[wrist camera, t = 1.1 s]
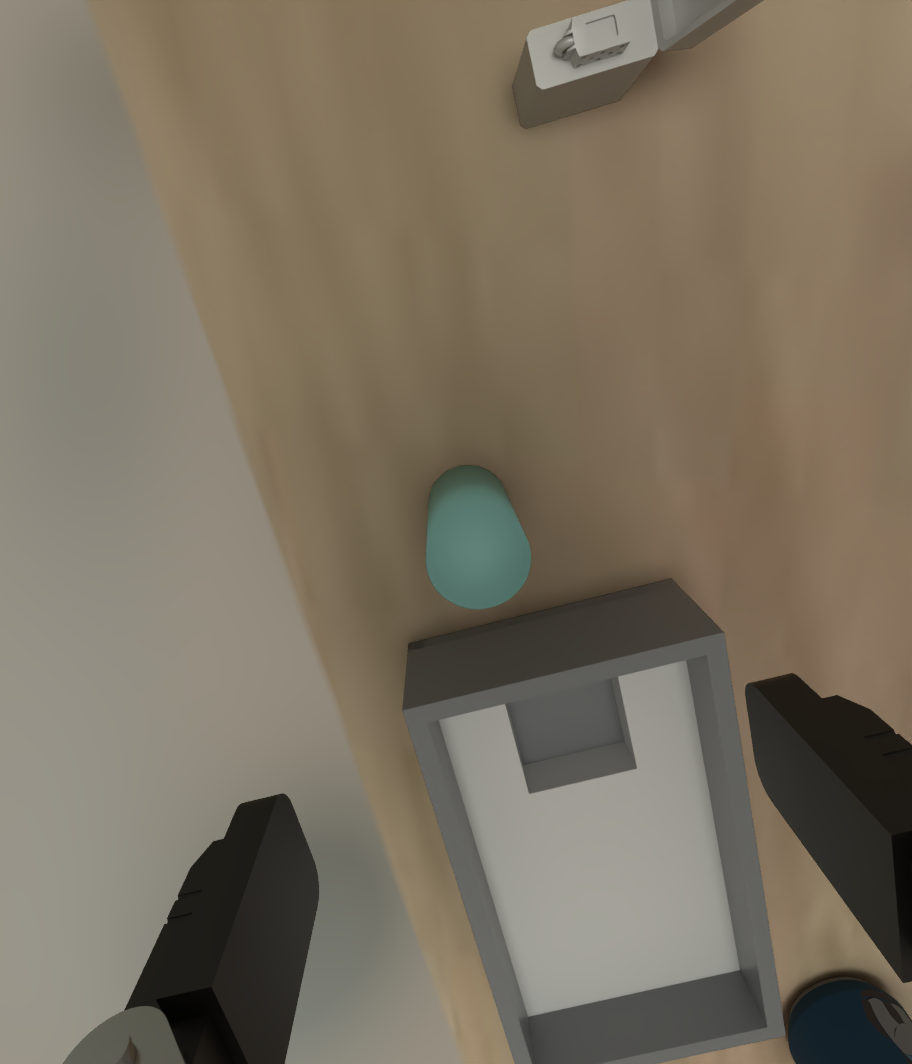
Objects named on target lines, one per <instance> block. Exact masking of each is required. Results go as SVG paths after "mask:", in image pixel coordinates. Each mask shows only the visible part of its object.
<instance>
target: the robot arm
mask: <svg viewBox="0 0 912 1064" xmlns="http://www.w3.org/2000/svg"><path fill="white" fill-rule="evenodd" d="M745 696H746V703H747V710H748V717H749V724H750V731H751V737H752V744H753V751H754V758H755V763H756V767H757V771H758V774H759V777H760V779H761V782H762V784H763V787H764V789H765V791H766V793H767V795H768V796H769V798H770V800H771V801H772V802H773V804H774V805H775V807H776V808H777V809H778V811H779V812H780V814H781V815H782V816H783V818H784V819H785V820H786V822H787V823H788V825H789V826H790V827H791V829H792V830H793V832H794V833H795V834H796V836H797V837H798V838H799V840H800V841H801V843H802V844H803V845H804V847H805V848H806V849H807V851H808V852H809V854H810V855H811V856H812V858H813V859H814V861H815V862H816V863H817V865H818V866H819V867H820V869H821V870H822V872H823V873H824V874H825V876H826V877H827V878H828V880H829V881H830V883H831V884H832V885H833V887H834V888H835V890H836V891H837V892H838V894H839V895H840V896H841V898H842V899H843V901H844V902H845V903H846V905H847V906H848V908H849V909H850V910H851V912H852V913H853V914H854V916H855V917H856V919H857V920H858V921H859V923H860V924H861V925H862V927H863V928H864V930H865V931H866V932H867V934H868V935H869V937H870V938H871V939H872V941H873V942H874V943H875V945H876V946H877V948H878V949H879V950H880V952H881V953H882V955H883V956H884V957H885V959H886V960H887V961H888V963H889V964H890V966H891V967H892V968H893V970H894V971H895V972H896V974H897V975H898V977H899V978H900V979H901V981H902V982H903V983H906V982H910V981H912V745H911V744H910V743H909V742H908V741H906V740H905V739H904V738H903V737H902V736H901V735H899V734H895V732H894V729H892V728H891V727H890V726H889V725H888V724H887V723H885V722H884V721H883V720H882V719H881V718H880V717H878V716H877V715H876V714H875V713H874V712H873V711H871V710H870V709H868V708H866V707H863V706H861V705H859V704H857V703H854V702H852V701H850V700H847V699H845V698H843V697H840V696H838V695H835V696H831V697H827V698H823V699H822V698H821V697H820V696H819V695H818V694H817V693H816V692H814V691H813V690H812V689H811V688H810V687H809V686H808V685H807V684H806V683H805V682H804V681H803V680H802V679H801V678H799V677H798V676H797V675H795V674H793V673H790V674H786V675H782V676H778V677H773V678H769V679H765V680H761V681H757V682H752V683H748V684H747V685H746V689H745ZM318 900H319V882H318V874H317V869H316V865H315V862H314V860H313V857H312V854H311V852H310V849H309V846H308V844H307V841H306V839H305V836H304V834H303V831H302V828H301V826H300V823H299V821H298V818H297V816H296V813H295V811H294V808H293V806H292V803H291V801H290V799H289V798H288V796H287V795H285V794H279V795H274V796H271V797H266V798H262V799H258V800H253V801H249V802H245V803H241V804H240V805H239V806H238V807H237V809H236V812H235V814H234V816H233V818H232V821H231V823H230V826H229V828H228V830H227V833H226V835H225V837H224V839H221V840H217V841H213V842H212V844H211V845H210V846H209V847H208V848H207V849H206V851H205V852H204V853H203V854H202V855H201V856H200V858H199V859H198V860H197V861H196V862H195V863H194V864H193V866H192V867H191V868H190V870H189V872H188V875H187V877H186V879H185V881H184V883H183V885H182V888H181V890H180V892H179V894H178V900H177V901H175V903H174V905H173V907H172V909H171V911H170V913H169V915H168V918H167V919H168V923H167V924H164V926H163V928H162V930H161V933H160V935H159V937H158V939H157V941H156V944H155V946H154V948H153V950H152V952H151V954H150V957H149V959H148V961H147V963H146V965H145V967H144V969H143V971H142V974H141V976H140V978H139V980H138V982H137V985H136V987H135V989H134V991H133V993H132V995H131V997H130V999H129V1002H128V1004H127V1006H126V1008H125V1010H124V1011H123V1012H120V1013H118V1014H116V1015H115V1016H113V1017H111V1018H109V1019H107V1020H106V1021H105V1022H103V1023H102V1024H100V1025H99V1026H97V1027H96V1028H95V1029H94V1030H93V1031H91V1032H90V1033H89V1034H88V1035H87V1036H86V1037H85V1038H84V1039H83V1040H82V1041H81V1042H80V1043H79V1044H78V1045H77V1046H76V1047H75V1048H74V1049H73V1051H72V1052H71V1053H70V1054H69V1056H68V1057H67V1058H66V1060H65V1061H64V1063H63V1064H285V1059H286V1054H287V1049H288V1045H289V1040H290V1035H291V1030H292V1025H293V1021H294V1015H295V1011H296V1006H297V1001H298V997H299V992H300V987H301V982H302V978H303V973H304V968H305V964H306V959H307V954H308V949H309V944H310V940H311V935H312V930H313V925H314V920H315V916H316V911H317V906H318Z"/></svg>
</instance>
